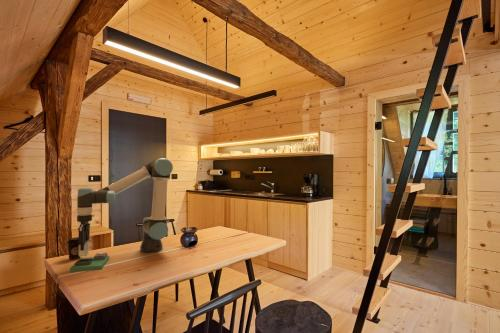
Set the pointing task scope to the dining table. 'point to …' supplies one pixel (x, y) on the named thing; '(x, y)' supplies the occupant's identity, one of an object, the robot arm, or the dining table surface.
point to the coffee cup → (73, 249)
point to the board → (90, 263)
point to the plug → (86, 248)
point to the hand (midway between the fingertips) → (83, 254)
